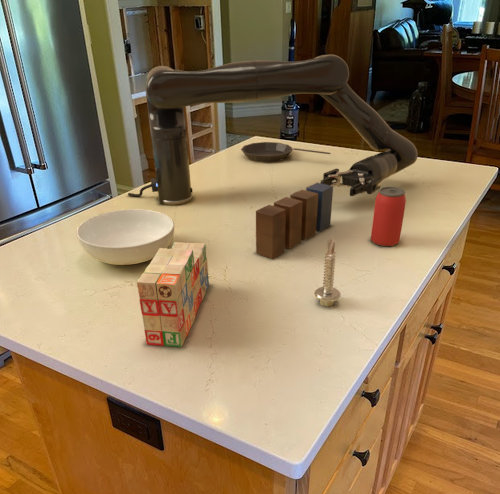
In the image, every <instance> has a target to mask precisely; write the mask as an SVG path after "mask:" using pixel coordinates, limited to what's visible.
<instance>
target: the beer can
mask: <svg viewBox="0 0 500 494" xmlns="http://www.w3.org/2000/svg"><path fill="white" fill-rule="evenodd" d="M406 204H407V198H406V191H405V190H404V189H403V188H401V187H397V186H384V187H380V189H378V193H377V195H376V197H375V202H374V209H373V217H372V223H371V224H372V225H371V232H370V240H371V242H372V243H374V244H375V245H377V246H380V247H392V246H396V245H398V244H399V243H400V242H401V235H402V229H403V224H404V223H403V222H404V216H405V209H406Z"/></svg>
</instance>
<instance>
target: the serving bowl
mask: <svg viewBox="0 0 500 494" xmlns="http://www.w3.org/2000/svg"><path fill="white" fill-rule="evenodd" d="M174 234H175V222H174V219H172V218H171V216H169V215H167V214H166V213H163V212H160V211H157V210H154V209H153V210H152V209H147V208H146V209H144V208H126V209H117V210H111V211H105V212H102V213H99V214H97V215H93V216H92V217H89V218H88V219H86V220H84V221H82V222H81V223H80V224H79V225H78V226H77V228H76V237H77V240H78V242H79V245H80V246H81V247H82V249H83V250H84V251H85V253H86V254H88V255H89V256H90V257H91V258H93V259H95V260H97V261H99V262H102V263H105V264H109V265H116V266H117V265H119V266H126V265H135V264H140V263H145V262H148V261H152V260H153V258H154V257H155V255H156V253H157V251H158V250H159V248H166V249H169V246H170V245H171V243H172V241H173V239H174Z"/></svg>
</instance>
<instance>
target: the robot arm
mask: <svg viewBox="0 0 500 494" xmlns="http://www.w3.org/2000/svg"><path fill="white" fill-rule="evenodd" d="M349 78H350V68H349V66H348V64H347V62H346V61H345V60H344V59H343V58H342V57H340V56H338V55H336V54H321V55H318V56H316V57H314V58H310V59H305V60H298V61H283V60H269V59H268V60H266V59H265V60H264V59H263V60H262V59H261V60H243V61H234V62H229V63H225V64H221V65H218V66H215V67H212V68H211V67H210V68H208V69H204V70H203V69H202V70H191V71H190V70H186V71H185V70H174V69H173V68H172V67H171V66H166V65H158V66H155V67H153V68H151V70H149V71H148V73H147V75H146V76H145V81H144V88H145V96H146V97H145V99H146V103H147V104H146V105H147V114H148V122H149V131H150V138H151V146H152V154H153V161H154V162H153V163H154V171H155V173H154V174H155V177H154V178H153V177H152V178H150V184H147V185H145V186H143V187H141V188H140V189H139V193H134V192H133V193H132V192H128V193H127V196H129V197H133V198H140V197H142V196H143V192H144V191H146V190H147V189H149V188H151V192H152V193H157V198H158V202H159V205H167V206H168V205H169V206H174V205H176V206H177V205H183V204H187V203H189V202H191V201H192V199H193V193H194V192H193V188H192V182H191V170H190V158H189V148H188V147H189V146H188V135H187V124H186V118H185V117H186V116H185V107H191V106H196V105H201V104H228V103H229V104H230V103H233V104H234V103H248V102H257V101H259V102H260V101H264V100H265V101H266V100H272V99H277V98H282V97H286V96H291V95H297V94H298V95H300V94H305V95H306V94H307V95H308V94H309V95H310V94H313V95H315V94H316V95H319V96H321V97H322V98H323V99H324V100H326V101H327V103H330V105H331V106H332V107H334V108H335V110H337V111H338V112H339V113H340V114H341V116H342V117H343V118H345V119H346V120H347V122H348V123H349V125H351V126H352V128H353V129H354V130H355V131H356V132H357V133H358V134H359V136H360V137H361V138H362V139H363V140H364V141H365V142H366V143H367V144H368V146H369V147H370V148H371V149H372V150H373V151H377V152H378V151H381V152H378V153H376V154H373V155H370V156H367V157H364V158H363V159H361V160H358V161H356V162H355V163H353V164H352V165H351V166H350V168H349V169H348V170H346V171H340V169H339V168H333V169H331V170H329V171H325V172H323V175H322V179H321V180H320V182H319V183H321V184H325V185H330V186H336V187H338V188H341V187H348V188H349V196H350V197H354V196H357V195H358V194H365V193H366V194H367V195H372V194H373V193H375V192H377V191H379V190H380V189H381V186H382V182H383V181H384V180H385V179H388V178H390V177H391V176H393V175H395V174H397V173H399V172H401V171H403V170H405V169H407V168H409V167H410V166H413V165H414V164H415V163H416V162H417V160H418V156H419V154H418V153H419V152H418V149H417V147H416V146H415V143H413V142H412V141H411V140H409V139H408V138H406V137H405V136H403V135H401V134H400V133H398V132H397V131H396V130H393V128H391V126H389V124H388V123H387V122H386V121H385V120H384V118H383V117H382V116H381V115H380V114H379V113H378V112H377V111H376V110H375V108H373V107H372V106H371V105H369V104H368V103H367V102H366V101H365V100H364V99H362V98H361V97H360V96H359V95H358V94H357V93H356V92H355V91H354V90H353V89H352V88H351V86H349V84H348V81H349ZM382 150H384V151H382Z"/></svg>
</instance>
